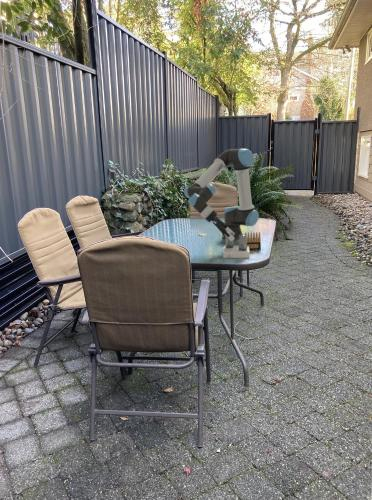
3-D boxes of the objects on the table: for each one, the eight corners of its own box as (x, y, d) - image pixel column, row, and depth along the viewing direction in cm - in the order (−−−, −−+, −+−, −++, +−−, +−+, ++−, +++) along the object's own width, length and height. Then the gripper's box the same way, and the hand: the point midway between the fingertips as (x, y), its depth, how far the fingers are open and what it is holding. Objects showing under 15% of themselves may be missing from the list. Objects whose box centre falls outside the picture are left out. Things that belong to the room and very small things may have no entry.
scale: (223, 251, 251) (223, 245, 250) (248, 251, 248) (248, 245, 247) (222, 258, 235) (222, 251, 234) (249, 258, 232) (249, 251, 231)
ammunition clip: (260, 249, 253) (260, 231, 250) (260, 249, 251) (261, 231, 248) (244, 249, 253) (244, 231, 250) (244, 250, 251) (244, 232, 248)
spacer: (225, 246, 247) (225, 232, 245) (233, 246, 246) (233, 232, 244) (225, 248, 242) (225, 234, 240) (233, 248, 242) (233, 233, 239)
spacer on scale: (238, 248, 239) (238, 234, 237) (246, 248, 239) (246, 234, 236) (238, 250, 234) (238, 236, 232) (247, 250, 234) (247, 236, 232)
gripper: (206, 215, 254) (229, 237, 255) (203, 221, 230) (228, 246, 231) (214, 207, 252) (237, 229, 253) (211, 212, 228) (237, 237, 229)
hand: (233, 237), depth 242 cm, fingers open, 13 cm apart
